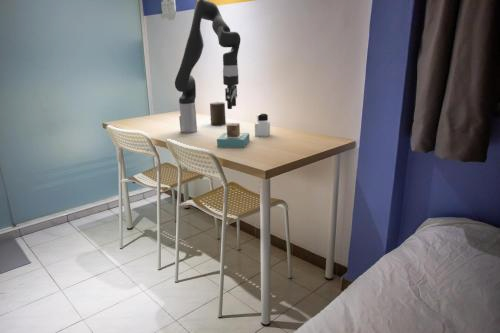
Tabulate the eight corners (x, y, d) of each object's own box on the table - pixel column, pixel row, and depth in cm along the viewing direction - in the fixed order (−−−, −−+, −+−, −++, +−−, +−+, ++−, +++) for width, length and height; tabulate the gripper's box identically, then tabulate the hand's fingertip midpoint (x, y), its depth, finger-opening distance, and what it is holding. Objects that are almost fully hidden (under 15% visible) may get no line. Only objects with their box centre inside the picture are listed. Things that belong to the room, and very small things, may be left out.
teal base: (217, 146, 190) (216, 138, 189) (224, 139, 203) (224, 132, 202) (244, 147, 188) (243, 139, 186) (249, 140, 201) (249, 132, 199)
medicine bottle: (270, 133, 214) (269, 113, 210) (267, 136, 207) (266, 115, 204) (258, 133, 216) (257, 112, 212) (254, 136, 209) (254, 115, 206)
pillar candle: (223, 125, 239) (222, 102, 234) (208, 125, 241) (207, 102, 236) (227, 122, 248) (226, 100, 243) (213, 122, 250) (212, 100, 245)
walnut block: (227, 136, 192) (226, 125, 190) (229, 134, 197) (229, 123, 195) (237, 137, 191) (237, 125, 189) (239, 134, 196) (239, 123, 194)
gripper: (227, 73, 191) (228, 105, 197) (219, 76, 178) (220, 109, 183) (241, 73, 190) (242, 105, 195) (234, 76, 177) (235, 110, 182)
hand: (231, 107), depth 189 cm, fingers open, 8 cm apart
